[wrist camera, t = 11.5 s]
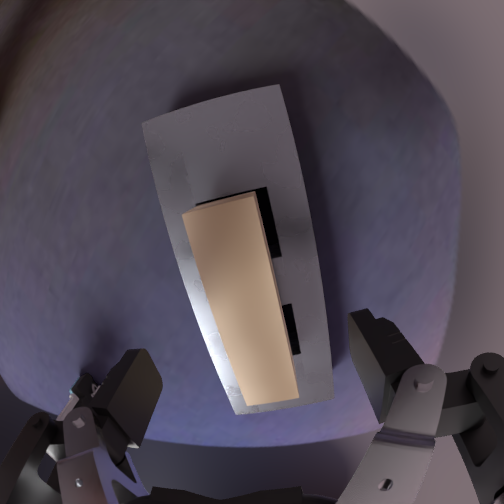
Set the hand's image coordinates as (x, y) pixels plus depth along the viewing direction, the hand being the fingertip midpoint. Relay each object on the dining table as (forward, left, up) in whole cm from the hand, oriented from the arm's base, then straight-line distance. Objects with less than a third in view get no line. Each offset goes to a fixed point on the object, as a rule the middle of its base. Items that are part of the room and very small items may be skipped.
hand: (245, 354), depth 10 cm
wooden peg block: (0, 0, -9) cm, 9 cm away
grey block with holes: (0, 0, -9) cm, 9 cm away
